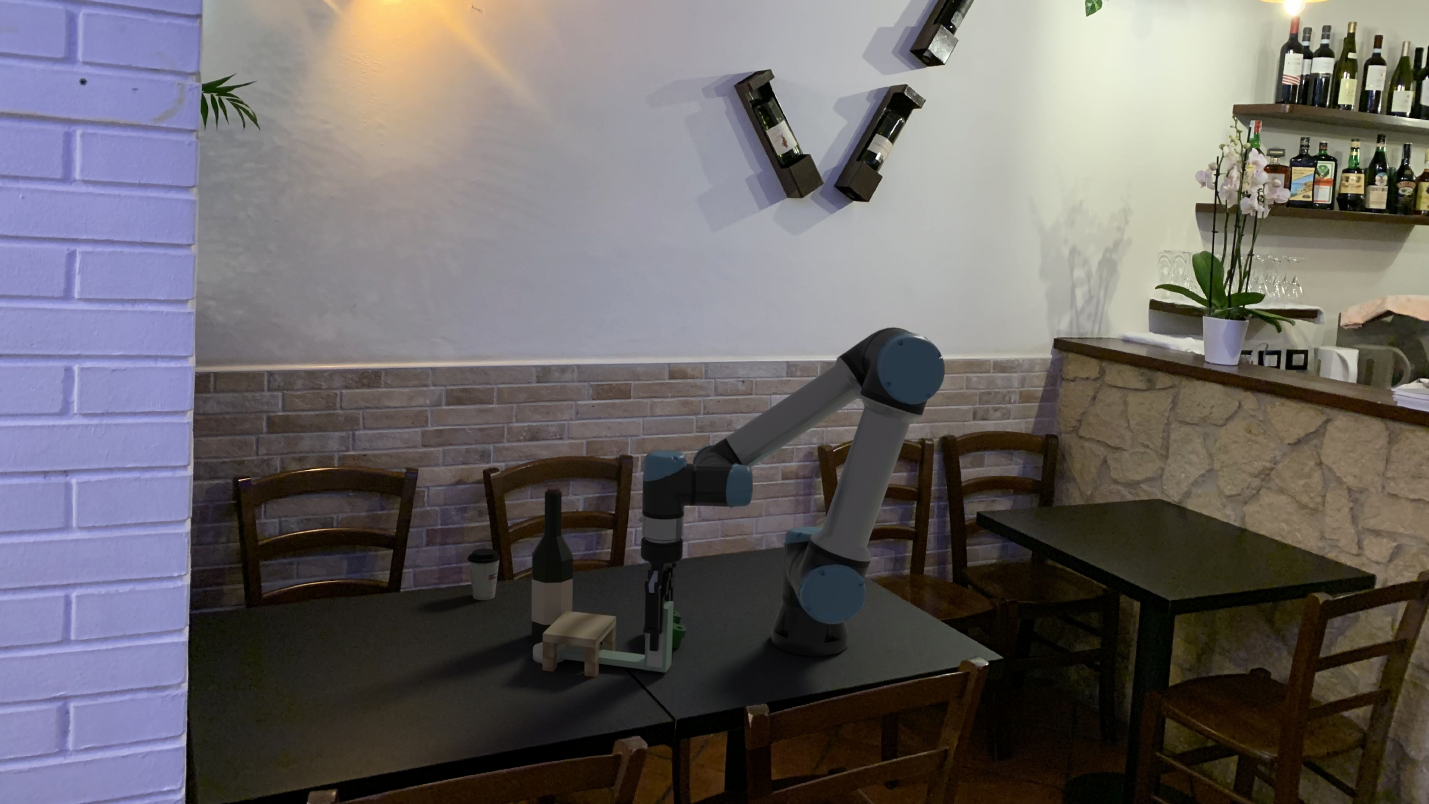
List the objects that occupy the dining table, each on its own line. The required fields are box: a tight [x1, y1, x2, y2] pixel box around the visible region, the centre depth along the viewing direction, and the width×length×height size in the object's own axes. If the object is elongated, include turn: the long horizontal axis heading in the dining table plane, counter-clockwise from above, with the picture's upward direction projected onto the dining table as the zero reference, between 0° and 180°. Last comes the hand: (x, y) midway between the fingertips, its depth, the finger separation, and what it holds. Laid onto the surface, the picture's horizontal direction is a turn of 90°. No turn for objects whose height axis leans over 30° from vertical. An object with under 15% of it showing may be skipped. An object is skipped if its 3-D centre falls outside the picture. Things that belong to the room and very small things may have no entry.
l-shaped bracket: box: [561, 601, 675, 673], centre depth 196 cm, size 20×4×12 cm, turn 78°
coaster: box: [532, 642, 566, 664], centre depth 200 cm, size 6×6×2 cm
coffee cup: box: [466, 547, 501, 601], centre depth 230 cm, size 7×7×10 cm
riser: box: [542, 610, 617, 678], centre depth 198 cm, size 10×12×7 cm
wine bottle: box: [530, 486, 574, 644], centre depth 207 cm, size 8×8×30 cm
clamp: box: [642, 610, 687, 649], centre depth 208 cm, size 12×6×9 cm
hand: (658, 660), depth 195 cm, fingers closed on l-shaped bracket, 4 cm apart
